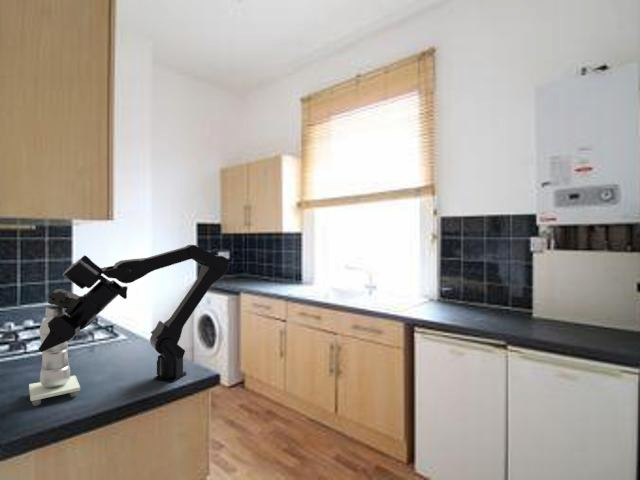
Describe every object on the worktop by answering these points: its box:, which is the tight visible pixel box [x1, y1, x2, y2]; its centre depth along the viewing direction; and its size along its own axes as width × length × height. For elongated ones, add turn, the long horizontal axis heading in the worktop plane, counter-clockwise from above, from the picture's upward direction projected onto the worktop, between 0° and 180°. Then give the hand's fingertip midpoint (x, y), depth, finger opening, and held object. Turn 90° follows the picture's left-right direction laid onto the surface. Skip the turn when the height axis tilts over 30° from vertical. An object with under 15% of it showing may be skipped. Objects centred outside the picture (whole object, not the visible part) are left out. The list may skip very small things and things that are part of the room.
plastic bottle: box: [38, 305, 72, 387], centre depth 96 cm, size 6×7×20 cm
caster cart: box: [28, 375, 81, 407], centre depth 96 cm, size 10×10×2 cm
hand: (47, 344), depth 96 cm, fingers open, 9 cm apart
